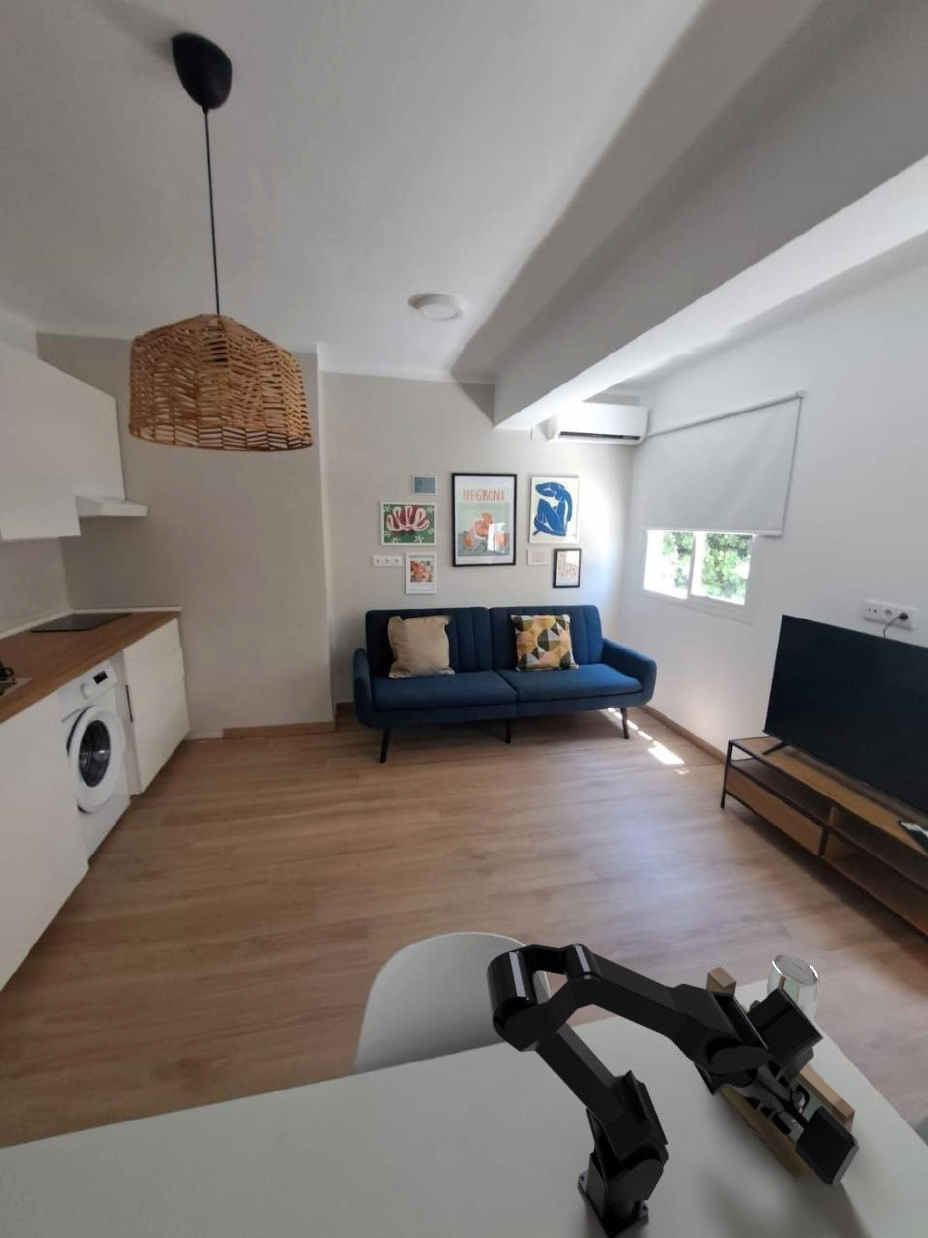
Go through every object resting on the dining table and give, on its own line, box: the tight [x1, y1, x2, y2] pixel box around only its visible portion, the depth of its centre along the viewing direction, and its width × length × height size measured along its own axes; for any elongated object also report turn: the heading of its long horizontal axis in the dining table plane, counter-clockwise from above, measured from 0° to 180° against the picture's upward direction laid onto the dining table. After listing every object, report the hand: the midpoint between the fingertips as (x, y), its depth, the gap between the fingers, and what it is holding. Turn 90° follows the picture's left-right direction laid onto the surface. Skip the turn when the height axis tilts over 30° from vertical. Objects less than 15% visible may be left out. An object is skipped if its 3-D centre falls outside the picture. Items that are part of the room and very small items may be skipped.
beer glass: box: [766, 952, 820, 1022], centre depth 82 cm, size 7×7×15 cm
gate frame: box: [705, 966, 812, 1181], centre depth 74 cm, size 6×18×14 cm, turn 24°
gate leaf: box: [740, 1003, 856, 1145], centre depth 72 cm, size 16×2×11 cm, turn 24°
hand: (789, 1102), depth 68 cm, fingers closed
